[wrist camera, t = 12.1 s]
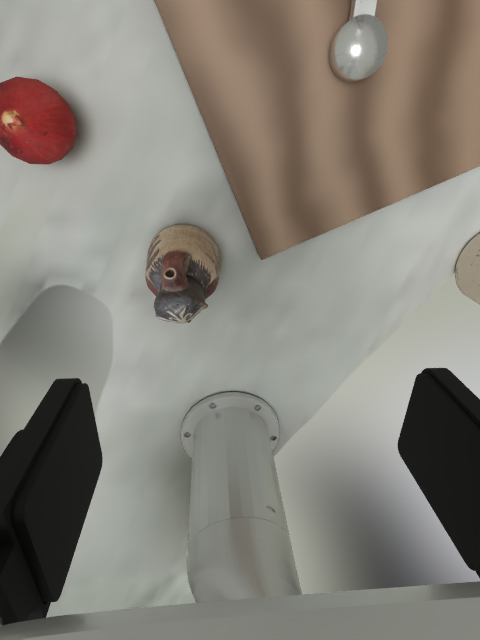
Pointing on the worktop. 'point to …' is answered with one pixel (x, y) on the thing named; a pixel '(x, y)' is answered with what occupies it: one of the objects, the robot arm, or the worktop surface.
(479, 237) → the teacup with lid
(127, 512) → the worktop surface
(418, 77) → the wooden cutting board
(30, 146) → the onion
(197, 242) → the tan brown ceramic jug
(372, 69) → the dial lever
